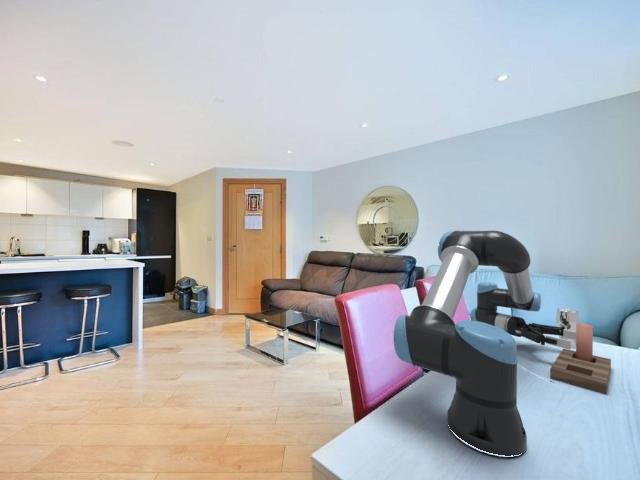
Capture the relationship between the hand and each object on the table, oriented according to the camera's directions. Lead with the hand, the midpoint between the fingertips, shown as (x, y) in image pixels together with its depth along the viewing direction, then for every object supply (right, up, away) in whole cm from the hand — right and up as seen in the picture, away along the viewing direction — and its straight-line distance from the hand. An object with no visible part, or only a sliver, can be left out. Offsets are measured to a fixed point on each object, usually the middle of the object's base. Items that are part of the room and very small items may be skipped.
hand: (579, 341), depth 95 cm
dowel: (0, -8, -2) cm, 8 cm away
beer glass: (+12, -9, +18) cm, 23 cm away
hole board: (-5, -9, -6) cm, 12 cm away
